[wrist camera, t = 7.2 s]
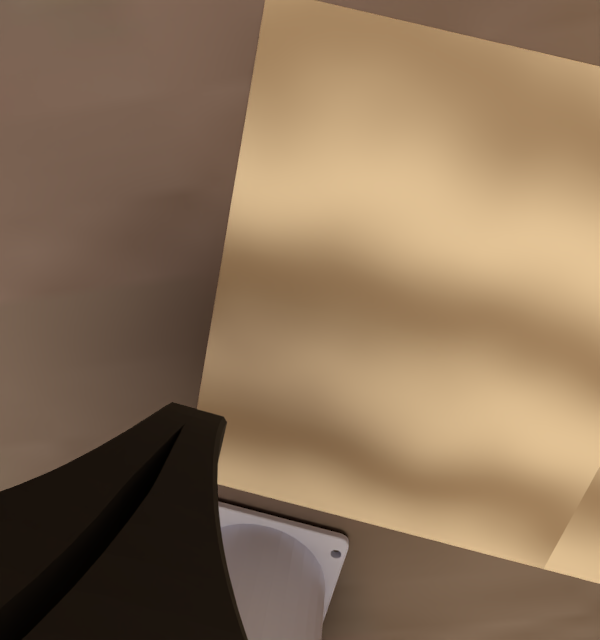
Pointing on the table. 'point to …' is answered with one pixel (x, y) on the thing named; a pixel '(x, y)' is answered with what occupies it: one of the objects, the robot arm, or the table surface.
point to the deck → (415, 286)
